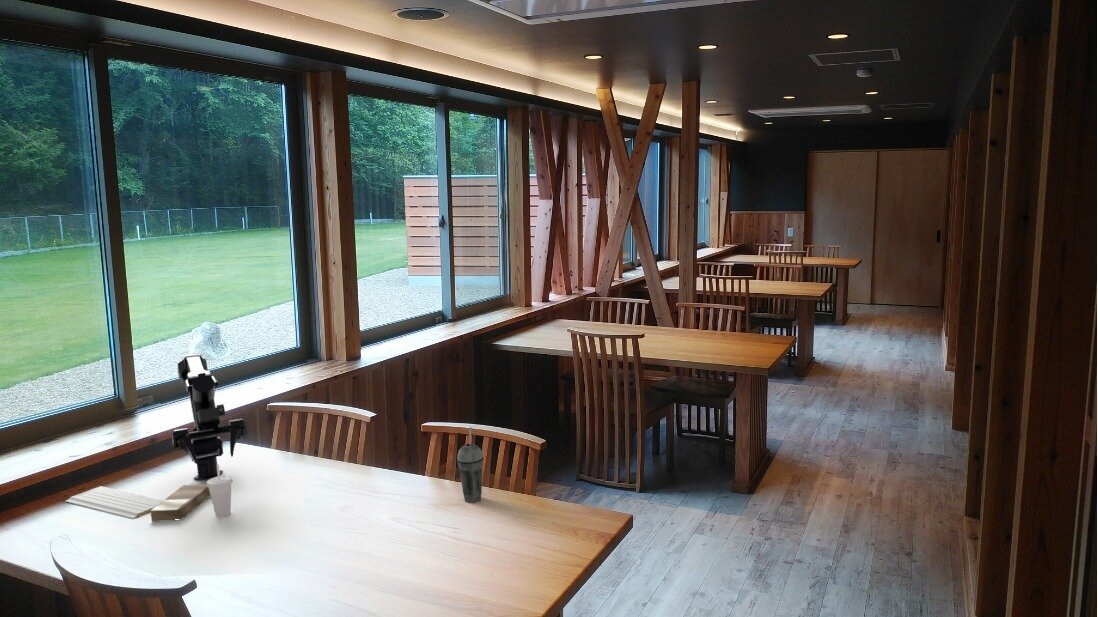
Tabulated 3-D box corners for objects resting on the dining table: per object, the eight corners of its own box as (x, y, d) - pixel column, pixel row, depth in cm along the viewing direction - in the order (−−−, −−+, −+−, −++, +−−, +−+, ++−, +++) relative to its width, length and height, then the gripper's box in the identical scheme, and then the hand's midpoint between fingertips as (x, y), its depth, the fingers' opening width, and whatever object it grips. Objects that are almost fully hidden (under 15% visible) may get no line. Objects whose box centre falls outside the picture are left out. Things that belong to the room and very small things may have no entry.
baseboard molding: (128, 523, 207) (168, 506, 218) (127, 512, 207) (167, 496, 217) (60, 505, 222) (101, 491, 233) (59, 496, 222) (100, 481, 232)
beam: (184, 494, 224) (183, 484, 224) (212, 494, 224) (210, 483, 224) (150, 521, 206) (149, 510, 205) (180, 520, 206) (178, 509, 205)
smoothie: (211, 521, 205) (205, 470, 203) (209, 512, 210) (203, 463, 208) (237, 515, 207) (231, 465, 205) (234, 507, 213) (229, 458, 211)
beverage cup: (454, 503, 209) (449, 431, 206) (467, 493, 215) (462, 423, 212) (478, 506, 206) (474, 433, 203) (490, 495, 213) (486, 425, 210)
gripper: (168, 402, 211) (176, 451, 203) (240, 390, 220) (251, 437, 212) (169, 423, 219) (177, 472, 211) (239, 411, 228) (249, 457, 220)
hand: (214, 459), depth 213 cm, fingers open, 9 cm apart
